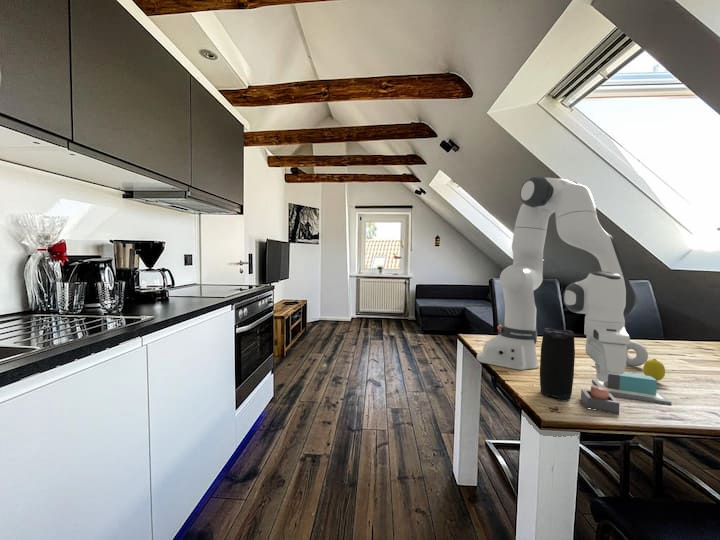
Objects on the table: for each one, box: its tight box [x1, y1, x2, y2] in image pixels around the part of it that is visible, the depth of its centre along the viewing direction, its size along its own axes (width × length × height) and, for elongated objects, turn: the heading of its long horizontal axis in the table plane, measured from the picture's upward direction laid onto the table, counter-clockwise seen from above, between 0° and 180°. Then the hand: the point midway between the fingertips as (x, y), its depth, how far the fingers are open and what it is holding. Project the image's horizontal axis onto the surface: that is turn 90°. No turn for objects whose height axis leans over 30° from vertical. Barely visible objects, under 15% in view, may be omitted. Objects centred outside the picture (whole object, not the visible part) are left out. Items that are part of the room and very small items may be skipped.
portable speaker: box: [539, 327, 576, 401], centre depth 95 cm, size 9×9×20 cm
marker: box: [604, 372, 658, 395], centre depth 100 cm, size 12×4×4 cm, turn 68°
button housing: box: [580, 388, 621, 415], centre depth 89 cm, size 7×7×3 cm
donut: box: [625, 340, 649, 367], centre depth 128 cm, size 10×4×10 cm, turn 28°
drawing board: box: [591, 378, 673, 406], centre depth 100 cm, size 16×12×1 cm
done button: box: [590, 385, 609, 400], centre depth 89 cm, size 4×4×3 cm
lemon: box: [643, 358, 666, 381], centre depth 110 cm, size 6×6×8 cm
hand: (601, 380), depth 89 cm, fingers closed
